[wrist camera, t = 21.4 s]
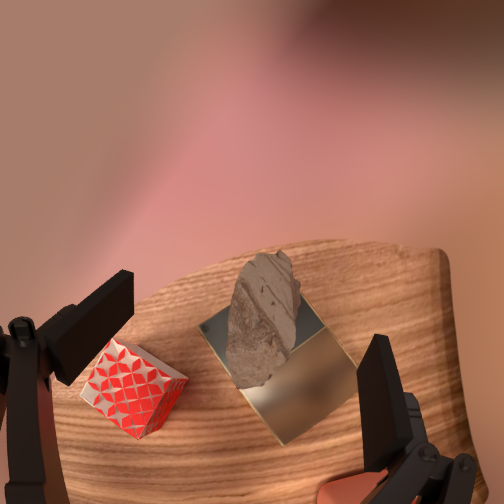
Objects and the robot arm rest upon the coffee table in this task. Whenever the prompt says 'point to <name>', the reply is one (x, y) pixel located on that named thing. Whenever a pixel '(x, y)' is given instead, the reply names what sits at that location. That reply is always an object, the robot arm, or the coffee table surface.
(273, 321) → the stone
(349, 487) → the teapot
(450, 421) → the coffee table surface
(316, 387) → the board
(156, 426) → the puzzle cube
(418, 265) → the coffee table surface
